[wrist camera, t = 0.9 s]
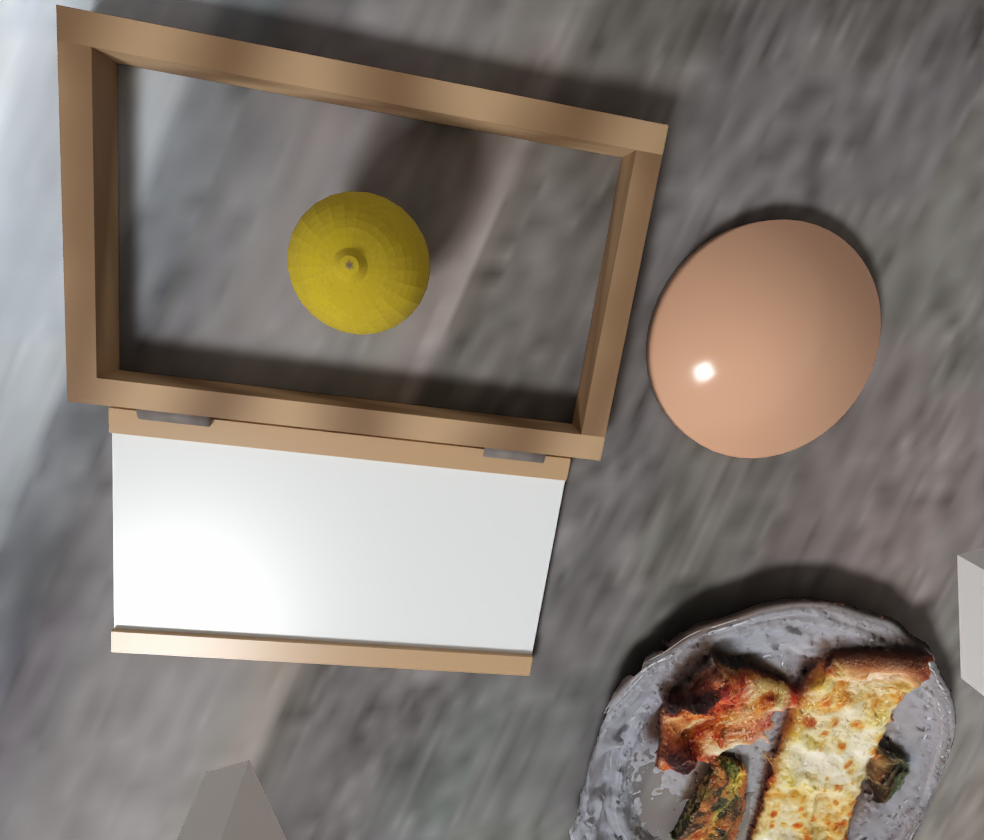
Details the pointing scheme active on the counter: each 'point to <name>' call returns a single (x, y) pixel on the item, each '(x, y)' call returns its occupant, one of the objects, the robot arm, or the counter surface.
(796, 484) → the counter surface
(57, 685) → the counter surface
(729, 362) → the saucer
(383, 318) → the lemon
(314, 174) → the counter surface
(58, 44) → the wooden frame
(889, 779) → the food plate
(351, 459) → the lid
